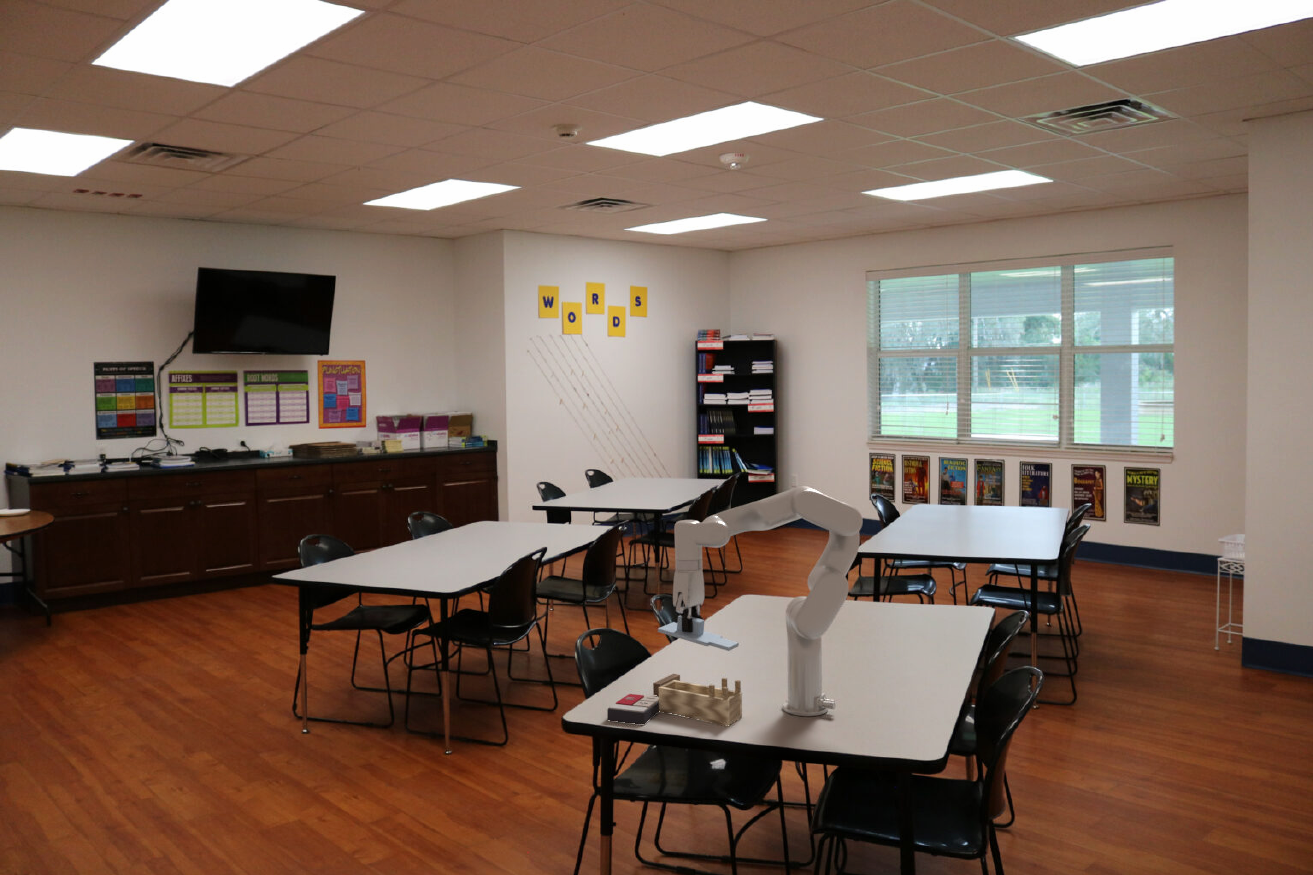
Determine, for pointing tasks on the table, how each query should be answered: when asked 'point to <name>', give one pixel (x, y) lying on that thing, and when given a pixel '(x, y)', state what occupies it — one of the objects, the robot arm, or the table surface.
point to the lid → (698, 634)
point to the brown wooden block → (664, 682)
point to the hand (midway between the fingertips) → (690, 629)
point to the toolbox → (702, 701)
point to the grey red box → (634, 709)
